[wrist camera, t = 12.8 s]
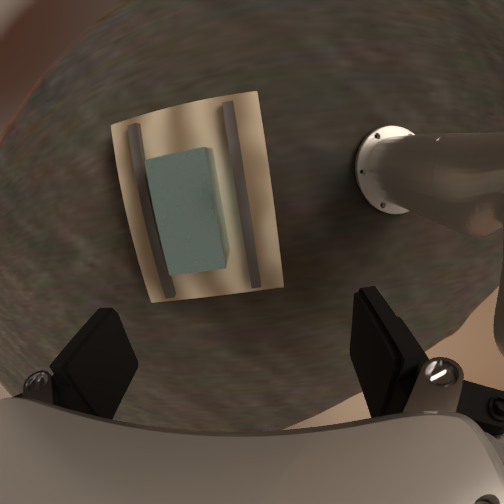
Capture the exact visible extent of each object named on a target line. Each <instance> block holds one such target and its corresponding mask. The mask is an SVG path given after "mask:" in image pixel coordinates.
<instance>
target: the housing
mask: <svg viewBox="0 0 504 504" xmlns="http://www.w3.org/2000/svg"><path fill="white" fill-rule="evenodd" d="M144 161H145V167H146V173H147V178H148V184H149V189H150V194H151V199H152V204H153V209H154V213H155V218H156V223H157V227H158V231H159V236H160V240H161V244H162V248H163V252H164V256H165V260H166V264H167V268H168V271H169V275H170V276H172V275H180V274H188V273H195V272H203V271H211V270H218V269H226V266H227V261H228V256H229V251H230V247H229V241H228V235H227V230H226V224H225V218H224V212H223V206H222V201H221V195H220V189H219V183H218V177H217V170H216V164H215V158H214V152H213V149H212V148H208V147H200V148H195V149H190V150H186V151H181V152H176V153H172V154H167V155H163V156H159V157H155V158H151V159H147V160H144Z"/></svg>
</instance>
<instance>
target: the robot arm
mask: <svg viewBox="0 0 504 504" xmlns="http://www.w3.org/2000/svg"><path fill="white" fill-rule="evenodd" d="M375 135H376V138H375ZM360 170H362V173H360ZM355 175H356V179H357V183H358V186H359V188H360V191H361V192H362V194H363V196H364V197H365V199H366V200H367V201H368V202H369V203H370V204H371V205H372V206H374V207H375V208H377V209H379V210H380V211H383V212H386V213H388V214H403V213H406V212H409V211H412V212H414V213H417V214H419V215H421V216H424V217H426V218H428V219H431V220H433V221H435V222H437V223H439V224H442V225H444V226H446V227H448V228H450V229H453V230H455V231H457V232H459V233H461V234H464V235H467V236H473V237H478V236H485V235H487V234H490V233H492V232H494V231H496V230H497V229H499V228H501V227H502V226H503V233H504V132H499V133H450V134H421V135H415V134H414V133H412V132H411V131H409V130H407V129H405V128H403V127H400V126H393V125H392V126H384V127H379V128H377V129H375V130H373V131H372V132H371V133H369V134H368V135H367V136H366V137H365V139H364V140H363V141H362V143H361V145H360V147H359V148H358V152H357V155H356V161H355ZM380 204H381V206H380ZM494 338H495V342H496V344H497V347H498V349H499V351H500V352H501V354H502V355H503V356H504V235H503V263H502V271H501V279H500V286H499V292H498V297H497V304H496V309H495V316H494ZM350 356H351V360H352V362H353V365H354V368H355V371H356V374H357V376H358V379H359V382H360V385H361V388H362V391H363V394H364V397H365V400H366V403H367V406H368V409H369V412H370V415H371V418H369V419H363V420H358V421H352V422H346V423H340V424H334V425H327V426H319V427H310V428H301V429H290V430H277V431H258V432H214V431H194V430H181V429H170V428H161V427H153V426H146V425H140V424H133V423H127V422H122V421H117V420H112V419H113V417H114V415H115V412H116V410H117V408H118V406H119V404H120V402H121V400H122V398H123V396H124V394H125V392H126V390H127V388H128V386H129V384H130V382H131V380H132V378H133V376H134V374H135V372H136V370H137V368H138V360H137V358H136V356H135V354H134V351H133V349H132V347H131V344H130V342H129V340H128V337H127V335H126V332H125V330H124V328H123V325H122V322H121V320H120V317H119V315H118V313H117V312H116V311H115V310H114V309H113V308H99V309H98V310H97V311H96V312H95V313H94V315H93V316H92V317H91V318H90V319H89V320H88V321H87V322H86V324H85V325H84V326H83V327H82V328H81V329H80V330H79V331H78V333H77V334H76V335H75V336H74V337H73V338H72V340H71V341H70V342H69V343H68V344H67V345H66V347H65V348H64V349H63V350H62V351H61V353H60V354H59V355H58V356H57V358H56V359H55V360H54V361H53V362H52V364H51V365H50V368H51V370H52V371H53V373H54V374H53V376H51V374H50V373H49V372H48V371H45V370H40V371H37V372H34V373H32V374H31V375H30V376H29V377H28V378H27V379H26V380H25V382H24V385H23V393H21V394H19V395H16V396H14V397H12V398H4V399H1V400H0V504H504V391H501V390H497V389H494V388H490V387H486V386H483V385H479V384H476V383H472V382H469V381H465V380H463V378H464V377H463V376H464V374H463V370H462V368H461V367H460V366H459V364H458V363H456V362H455V361H453V360H451V359H449V358H444V357H436V358H432V359H430V360H429V359H428V357H427V355H426V354H425V352H424V351H423V349H422V348H421V346H420V345H419V343H418V342H417V340H416V339H415V337H414V336H413V334H412V333H411V332H410V330H409V329H408V327H407V326H406V324H405V323H404V322H403V320H402V319H401V318H400V317H397V316H396V315H395V313H394V312H393V311H392V309H391V308H390V306H389V305H388V304H387V302H386V301H385V299H384V298H383V297H382V295H381V294H380V293H379V291H378V290H377V289H376V287H375V286H371V287H364V288H360V289H359V291H358V292H357V293H355V294H354V304H353V319H352V331H351V342H350Z"/></svg>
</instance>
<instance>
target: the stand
mask: <svg viewBox="0 0 504 504" xmlns="http://www.w3.org/2000/svg"><path fill="white" fill-rule="evenodd" d="M111 130H112V138H113V145H114V152H115V158H116V164H117V170H118V175H119V181H120V186H121V191H122V196H123V201H124V205H125V210H126V214H127V219H128V223H129V227H130V231H131V235H132V239H133V243H134V247H135V250H136V254H137V258H138V261H139V265H140V268H141V272H142V275H143V278H144V282H145V285H146V288H147V291H148V294H149V297H150V300H151V303H154V302H165V301H174V300H184V299H193V298H202V297H211V296H219V295H227V294H235V293H243V292H251V291H258V290H266V289H273V288H280V287H284V283H283V274H282V265H281V257H280V248H279V240H278V232H277V224H276V216H275V209H274V201H273V194H272V186H271V179H270V172H269V165H268V158H267V151H266V144H265V138H264V131H263V125H262V118H261V112H260V106H259V100H258V94H257V91H254V92H247V93H239V94H233V95H227V96H221V97H215V98H210V99H205V100H200V101H195V102H191V103H186V104H182V105H178V106H174V107H170V108H166V109H162V110H158V111H155V112H151V113H148V114H144V115H141V116H138V117H134V118H131V119H128V120H125V121H122V122H119V123H116V124H113V125H111ZM200 147H208V148H212V149H213V152H214V158H215V164H216V170H217V177H218V183H219V189H220V195H221V201H222V206H223V212H224V218H225V224H226V230H227V235H228V241H229V247H230V251H229V256H228V261H227V266H226V269H218V270H211V271H203V272H195V273H188V274H180V275H172V276H170V275H169V271H168V268H167V264H166V260H165V256H164V252H163V248H162V244H161V240H160V236H159V231H158V227H157V223H156V218H155V213H154V209H153V204H152V199H151V194H150V189H149V184H148V178H147V173H146V167H145V161H144V160H147V159H151V158H155V157H159V156H163V155H167V154H172V153H176V152H181V151H186V150H190V149H195V148H200Z"/></svg>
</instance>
